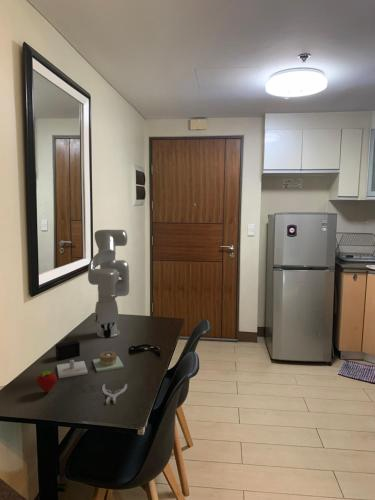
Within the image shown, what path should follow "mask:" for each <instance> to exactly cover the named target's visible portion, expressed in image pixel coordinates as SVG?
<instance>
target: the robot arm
mask: <svg viewBox="0 0 375 500" xmlns="http://www.w3.org/2000/svg"><path fill="white" fill-rule="evenodd" d="M94 241H95V244H96V246H97V248H98V249H97V253H96V254H94V255H93V256H92V258H91V259H90V261H89V263H88V271H87V279H88V282H89V284H90V285H93V286H97V298H98V299H97V301H96V304H95V309H94V322H95V327H97V328H99V330H98V331H97V333H96V335H97V337H99V338H105V339H111V338H115V337H118V336H119V335H120V330H119V329H118V323H119V306H118V301H117V300H116V298H118V297H126V296H128V295H129V293H130V268H129V267H130V266H129V263H128V262H127V260H124V259H123V260H122V259H119V260H118V259H117V260H116V247H125V246H126V245H127V244H128V233H127V231H126V230H125V229H98V230H96V231H95V232H94ZM98 266H99V268H97V267H98Z"/></svg>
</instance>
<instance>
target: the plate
mask: <svg viewBox="0 0 375 500" xmlns="http://www.w3.org/2000/svg"><path fill="white" fill-rule="evenodd" d="M106 356H110V354H106ZM92 363H93V366H94V368H95V371H96V373H101V372H108V371H115V370H120V369H124V368H125V366H124V364H123V362H122V360H121V359H120V356H118V355H116V363H115V364H114V365H111V366H103V365H101V364H100V358H95V359H92Z"/></svg>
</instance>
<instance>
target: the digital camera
mask: <svg viewBox="0 0 375 500" xmlns="http://www.w3.org/2000/svg"><path fill="white" fill-rule="evenodd" d="M80 345H81V344H80V341H78V340H77V339H75V340H71V341H70V340H69V341H65V342H58V343H56V344H55V359H56V360H58V361H64V360H68V359H69V360H70V359H73V358H77V357H80V356H81V350H80V349H81V346H80Z"/></svg>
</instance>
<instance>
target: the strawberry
mask: <svg viewBox="0 0 375 500" xmlns="http://www.w3.org/2000/svg"><path fill="white" fill-rule="evenodd" d="M57 380H58V377H57V375H56V374H54V372H52V371H51V370H50V371H48V370H45V371H41V372H40V374H39V375H38V376H37V378H36V382H37V386H39V388H41V390H43V391H44V393H49V392H50V391H51V390H52V389H53V388H54V386H55V385H56V383H57Z"/></svg>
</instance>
